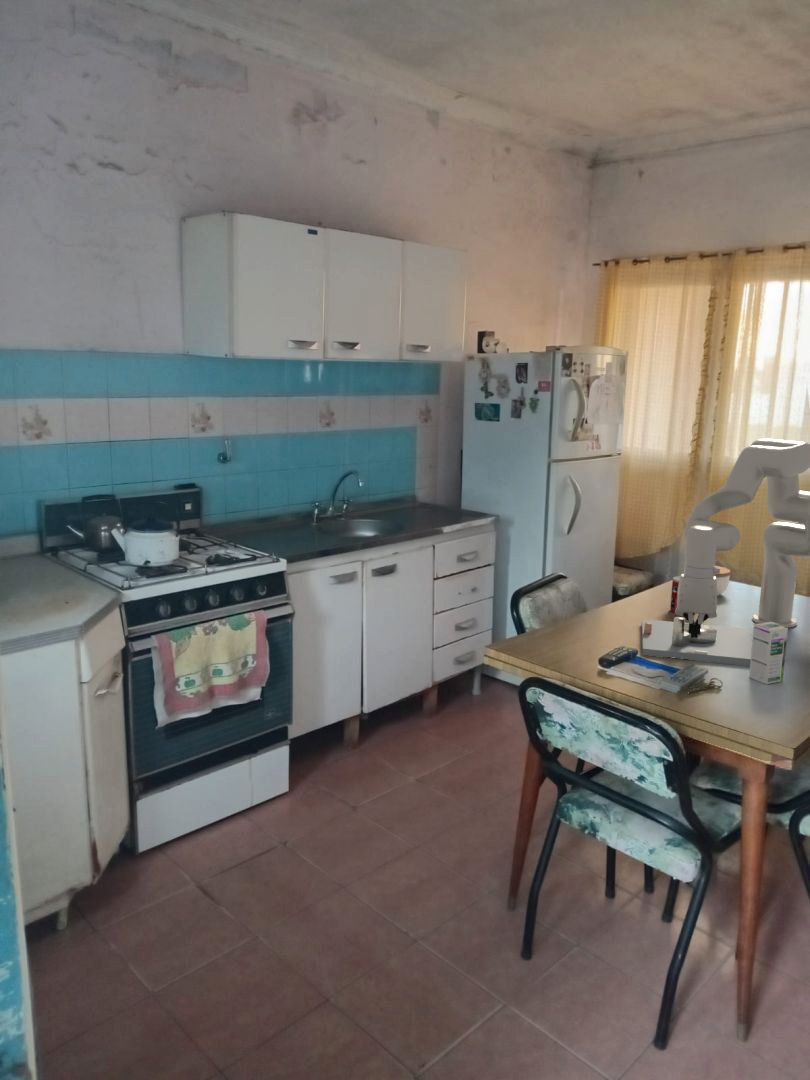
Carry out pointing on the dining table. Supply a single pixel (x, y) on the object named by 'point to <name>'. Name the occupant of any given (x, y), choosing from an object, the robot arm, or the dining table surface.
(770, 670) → the syrup box
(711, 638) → the grey piece
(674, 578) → the canned food
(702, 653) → the board
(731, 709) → the dining table surface
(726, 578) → the lidded bowl
